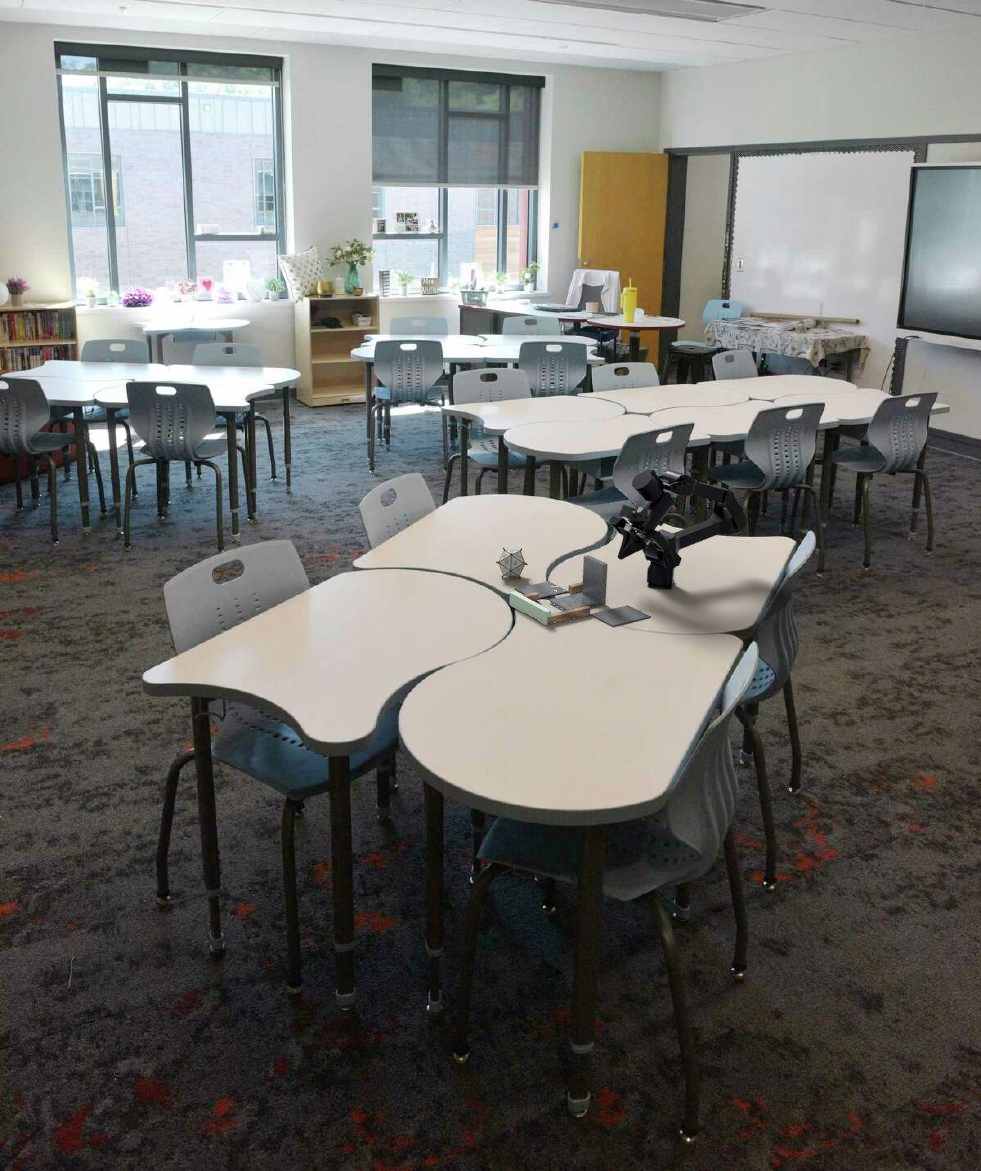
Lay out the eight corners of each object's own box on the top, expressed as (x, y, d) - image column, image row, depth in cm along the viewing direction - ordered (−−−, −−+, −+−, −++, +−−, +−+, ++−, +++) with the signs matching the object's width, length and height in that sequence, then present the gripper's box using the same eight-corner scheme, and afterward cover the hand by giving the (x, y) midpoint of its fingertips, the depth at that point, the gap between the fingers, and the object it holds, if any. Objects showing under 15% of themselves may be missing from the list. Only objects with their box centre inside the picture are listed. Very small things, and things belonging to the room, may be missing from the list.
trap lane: (569, 577, 295) (569, 570, 294) (650, 617, 268) (651, 609, 267) (492, 594, 282) (492, 586, 282) (569, 637, 255) (569, 629, 255)
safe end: (514, 604, 276) (514, 591, 275) (550, 624, 263) (551, 610, 262) (509, 605, 275) (509, 592, 274) (545, 625, 262) (546, 612, 261)
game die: (516, 587, 298) (536, 557, 298) (514, 587, 289) (535, 556, 289) (489, 569, 299) (509, 539, 298) (486, 568, 290) (507, 537, 290)
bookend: (586, 595, 283) (588, 555, 279) (605, 604, 276) (607, 563, 273) (549, 603, 277) (550, 562, 273) (567, 613, 270) (569, 571, 266)
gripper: (616, 485, 284) (580, 531, 282) (662, 501, 269) (625, 550, 267) (637, 509, 291) (603, 555, 289) (684, 527, 276) (648, 575, 274)
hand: (619, 558), depth 280 cm, fingers closed
